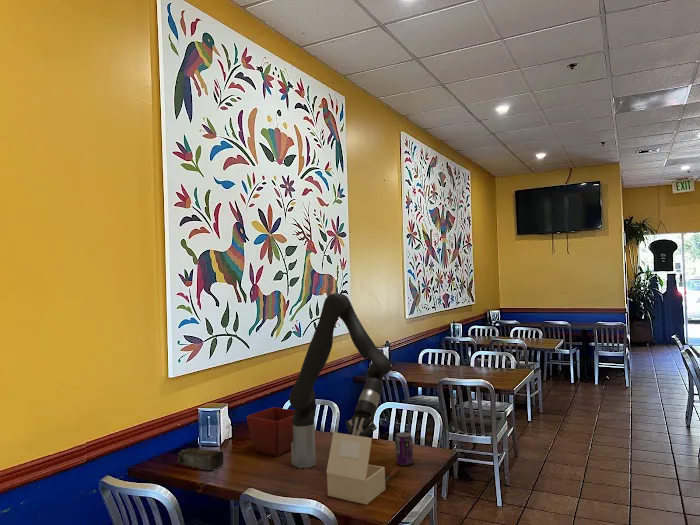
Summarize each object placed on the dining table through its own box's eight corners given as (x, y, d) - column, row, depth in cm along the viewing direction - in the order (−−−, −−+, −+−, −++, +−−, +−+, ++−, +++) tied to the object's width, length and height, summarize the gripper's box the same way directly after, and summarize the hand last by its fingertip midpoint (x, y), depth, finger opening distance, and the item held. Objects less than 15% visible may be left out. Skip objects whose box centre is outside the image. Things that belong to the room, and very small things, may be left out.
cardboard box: (327, 495, 180) (327, 473, 181) (348, 481, 192) (347, 460, 193) (366, 504, 172) (365, 480, 172) (385, 489, 184) (384, 467, 184)
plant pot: (305, 447, 234) (304, 411, 235) (278, 460, 218) (277, 421, 219) (274, 441, 245) (273, 406, 245) (246, 453, 229) (245, 416, 229)
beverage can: (412, 466, 205) (411, 437, 206) (395, 466, 207) (394, 436, 207) (413, 460, 212) (412, 432, 213) (397, 460, 214) (396, 431, 214)
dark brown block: (190, 460, 223) (190, 445, 223) (224, 466, 215) (224, 450, 215) (177, 466, 216) (176, 451, 216) (212, 472, 208) (211, 456, 208)
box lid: (327, 472, 181) (326, 472, 180) (334, 432, 186) (333, 432, 185) (365, 480, 172) (364, 480, 172) (372, 438, 178) (371, 437, 177)
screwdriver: (396, 471, 202) (396, 466, 202) (400, 472, 201) (400, 466, 201) (381, 486, 188) (380, 480, 188) (384, 486, 187) (384, 481, 187)
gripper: (348, 397, 193) (333, 439, 182) (379, 400, 186) (365, 444, 175) (356, 408, 197) (341, 449, 186) (386, 411, 190) (373, 454, 180)
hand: (353, 446), depth 181 cm, fingers closed
